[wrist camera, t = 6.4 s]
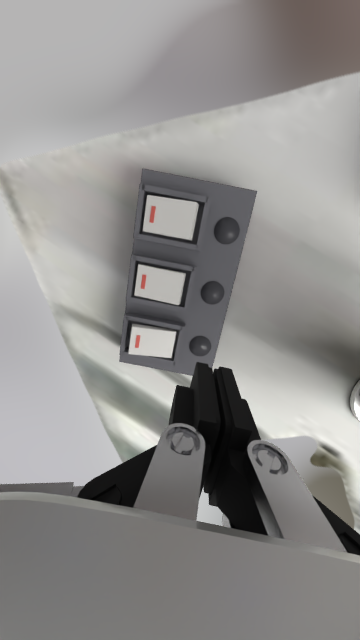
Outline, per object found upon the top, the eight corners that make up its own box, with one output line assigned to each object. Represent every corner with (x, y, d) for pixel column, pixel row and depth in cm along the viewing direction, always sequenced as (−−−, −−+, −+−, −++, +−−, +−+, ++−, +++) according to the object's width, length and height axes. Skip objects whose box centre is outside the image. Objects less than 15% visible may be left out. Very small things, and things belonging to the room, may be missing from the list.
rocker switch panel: (249, 198, 31) (261, 187, 25) (207, 366, 38) (210, 384, 33) (148, 179, 31) (139, 163, 25) (126, 350, 38) (115, 366, 33)
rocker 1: (198, 204, 26) (196, 201, 25) (192, 240, 27) (189, 239, 26) (151, 197, 27) (146, 194, 26) (146, 232, 28) (142, 230, 27)
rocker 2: (175, 328, 32) (176, 332, 31) (170, 354, 33) (171, 358, 32) (132, 323, 31) (131, 327, 29) (128, 350, 32) (128, 354, 31)
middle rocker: (186, 273, 29) (184, 273, 27) (180, 303, 30) (178, 305, 29) (141, 264, 29) (138, 264, 28) (137, 294, 30) (134, 295, 29)
